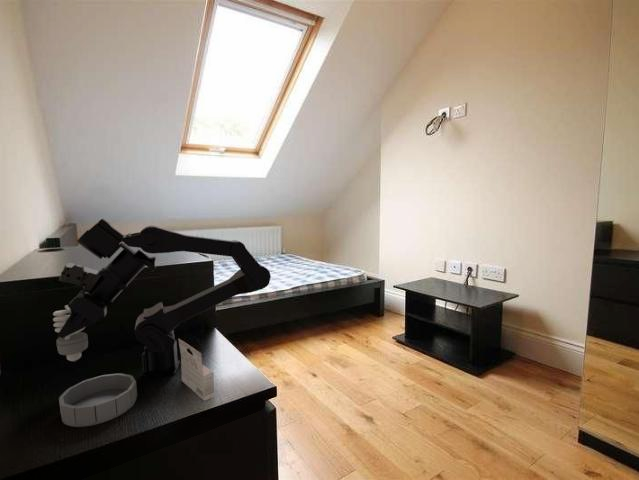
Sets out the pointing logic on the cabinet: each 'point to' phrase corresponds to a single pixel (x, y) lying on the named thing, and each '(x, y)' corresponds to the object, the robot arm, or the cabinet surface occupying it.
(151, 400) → the cabinet surface
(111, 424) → the cabinet surface
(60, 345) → the light bulb
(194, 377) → the ink cartridge box
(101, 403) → the bowl
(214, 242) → the robot arm
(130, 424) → the cabinet surface
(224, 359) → the cabinet surface
